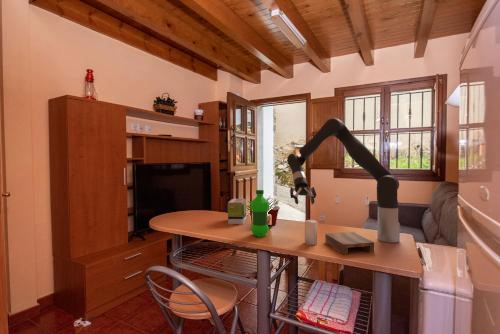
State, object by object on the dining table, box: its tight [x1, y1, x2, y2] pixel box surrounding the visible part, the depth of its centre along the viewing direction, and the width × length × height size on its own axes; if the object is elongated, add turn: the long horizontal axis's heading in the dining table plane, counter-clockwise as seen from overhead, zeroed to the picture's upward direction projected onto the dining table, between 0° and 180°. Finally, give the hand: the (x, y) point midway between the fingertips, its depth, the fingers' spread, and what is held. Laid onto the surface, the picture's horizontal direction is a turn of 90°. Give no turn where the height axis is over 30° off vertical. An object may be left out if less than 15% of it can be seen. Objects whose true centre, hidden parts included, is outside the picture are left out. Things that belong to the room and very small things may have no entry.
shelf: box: [324, 231, 375, 256], centre depth 123 cm, size 15×17×4 cm
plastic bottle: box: [249, 189, 270, 238], centre depth 143 cm, size 10×10×25 cm
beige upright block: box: [304, 219, 318, 246], centre depth 129 cm, size 6×6×11 cm
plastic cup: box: [268, 205, 280, 227], centre depth 165 cm, size 11×11×12 cm
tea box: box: [227, 198, 247, 226], centre depth 174 cm, size 15×10×15 cm
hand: (305, 203), depth 142 cm, fingers open, 8 cm apart
